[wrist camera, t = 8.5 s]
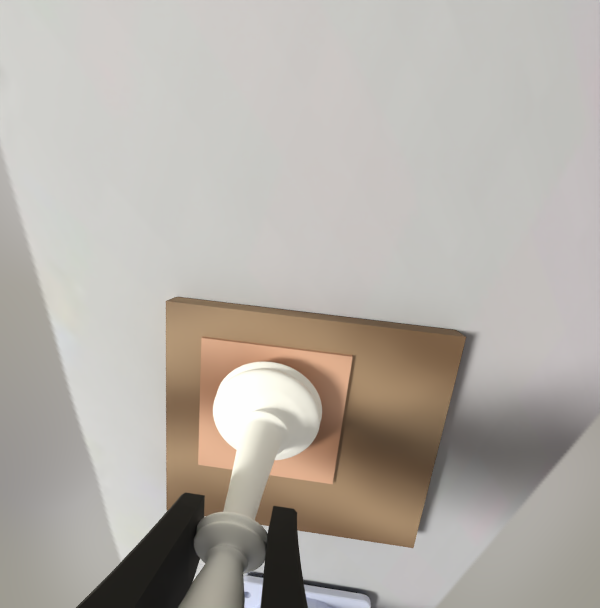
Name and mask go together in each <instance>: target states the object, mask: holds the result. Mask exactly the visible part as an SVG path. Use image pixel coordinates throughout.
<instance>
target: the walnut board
mask: <svg viewBox="0 0 600 608" xmlns="http://www.w3.org/2000/svg"><path fill="white" fill-rule="evenodd" d="M465 340H466V337H465V336H464V335H462V334H461V333H459V332H458V331H457V330H451V329H443V328H435V327H426V326H418V325H409V324H401V323H393V322H384V321H376V320H367V319H359V318H350V317H342V316H334V315H325V314H317V313H308V312H300V311H292V310H283V309H275V308H266V307H258V306H250V305H241V304H233V303H224V302H216V301H208V300H199V299H191V298H182V297H175V298H172V299H170V300H167V301H166V474H167V510H169V509H170V508H171V506H172V505H173V504H174V503H175V502H176V501H177V499H178V498H179V497H180V496H181V495H182V494H183V493H185V492H186V493H193V494H199V495H205V505H204V516H208V515H210V514H213V513H217V512H223V510H224V506H225V501H226V497H227V493H228V489H229V485H230V480H231V475H232V471H233V465H234V460H235V456H236V451H237V450H236V449H234V448H233V447H232V446H230V445H229V444H228V443H227V442H226V441H225V440H224V438H223V437H222V436H221V434H220V433H219V431H218V429H217V427H216V425H215V422H214V417H213V404H214V400H215V397H216V394H217V391H218V388H219V386H220V384H221V382H222V381H223V379H224V378H225V377H226V376H227V375H228V374H229V373H230V372H232V371H233V370H235V369H236V368H238V367H240V366H242V365H245V364H249V363H253V362H275V363H279V364H283V365H286V366H289V367H291V368H293V369H295V370H296V371H298V372H300V373H301V374H302V375H304V376H305V377H306V378H307V379H308V380H309V381H310V382H311V383H312V384H313V386H314V387H315V389H316V390H317V392H318V394H319V397H320V400H321V404H322V418H321V422H320V427H319V431H318V433H317V435H316V437H315V439H314V441H313V442H312V443H311V444H310V446H309V447H307V448H306V449H305V450H304V451H302V452H301V453H299V454H297V455H295V456H293V457H290V458H287V459H282V460H274V463H273V466H272V469H271V472H270V475H269V477H268V480H267V483H266V486H265V489H264V492H263V495H262V498H261V501H260V505H259V508H258V511H257V514H256V517H255V521H256V522H258V523H259V524H260V525H266V526H269V525H270V519H271V515H272V510H273V506H279V507H286V508H293V509H295V511H296V512H297V530H299V531H305V532H312V533H318V534H325V535H332V536H338V537H345V538H351V539H358V540H364V541H371V542H377V543H384V544H390V545H397V546H403V547H410V548H413V547H414V543H415V539H416V535H417V531H418V527H419V523H420V519H421V515H422V511H423V507H424V503H425V499H426V495H427V491H428V487H429V483H430V479H431V475H432V471H433V468H434V464H435V460H436V456H437V452H438V448H439V444H440V440H441V436H442V432H443V428H444V424H445V420H446V416H447V412H448V408H449V404H450V400H451V396H452V392H453V388H454V384H455V380H456V376H457V372H458V368H459V364H460V360H461V356H462V352H463V348H464V344H465Z"/></svg>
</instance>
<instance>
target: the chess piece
mask: <svg viewBox="0 0 600 608" xmlns="http://www.w3.org/2000/svg"><path fill="white" fill-rule="evenodd" d="M213 417H214V422H215V425H216V427H217V429H218V431H219V433H220V434H221V436H222V437H223V438H224V440H225V441H226V442H227V443H228V444H229V445H230V446H232V447H233V448H234V449H236V450H237V451H236V456H235V460H234V465H233V471H232V475H231V480H230V485H229V489H228V493H227V497H226V501H225V506H224V510H223V512H217V513H213V514H210V515H208V516H206V517H204V518H203V519H202V520H201V521H200V522H199V523H198V525H197V530H196V535H195V538H194V548H195V551H196V553H197V555H198V556H199V558H200V559H201V560H202V561H203V562H204V563H206V564H205V565H204V567H203V568H202V570H201V571H200V573H199V574H198V575H197V577H196V578H195V580H194V581H193V583H192V584H191V586H190V588H189V590H188V592H187V594H186V595H185V597H184V599H183V600H182V602H181V603H180V605H179V606H178V608H244V605H245V593H244V578H243V573H248V572H251V571H254V570H256V569H257V568H259V567H260V566H261V565H262V564H263V563H264V561H265V556H266V546H267V536H268V534H267V532H266V530H265V529H264V528H263V527H262V526H261V525H260V524H259V523H258V522H256V521H255V517H256V514H257V511H258V508H259V505H260V501H261V498H262V495H263V492H264V489H265V486H266V483H267V480H268V477H269V475H270V472H271V469H272V466H273V463H274V460H282V459H287V458H290V457H293V456H295V455H297V454H299V453H301V452H302V451H304V450H305V449H306V448H307V447H309V446H310V444H311V443H312V442H313V441H314V439H315V437H316V435H317V433H318V431H319V427H320V422H321V418H322V404H321V400H320V397H319V394H318V392H317V390H316V389H315V387H314V386H313V384H312V383H311V382H310V381H309V380H308V379H307V378H306V377H305V376H304V375H302V374H301V373H300V372H298V371H296V370H295V369H293V368H291V367H289V366H286V365H283V364H279V363H275V362H253V363H249V364H245V365H242V366H240V367H238V368H236V369H235V370H233V371H232V372H230V373H229V374H228V375H227V376H226V377H225V378H224V379H223V381H222V382H221V384H220V386H219V388H218V391H217V394H216V397H215V400H214V404H213Z"/></svg>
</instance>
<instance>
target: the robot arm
mask: <svg viewBox="0 0 600 608" xmlns="http://www.w3.org/2000/svg"><path fill="white" fill-rule="evenodd" d="M204 505H205V495H199V494H193V493H186V492H185V493H183V494H182V495H181V496H180V497H179V498H178V499H177V501H176V502H175V503H174V504H173V505H172V506H171V508H170V509H169V510H168V511H167V512H166V513H165V515H164V516H163V517H162V518H161V519H160V520H159V521H158V523H157V524H156V525H155V526H154V527H153V528H152V529H151V530H150V531H149V533H148V534H147V535H146V536H145V537H144V538H143V539H142V540H141V541H140V543H139V544H138V545H137V546H136V547H135V548H134V549H133V550H132V551H131V552H130V553H129V554H128V555H127V556H126V557H125V558H124V560H123V561H122V562H121V563H120V564H119V565H118V566H117V567H116V568H115V569H114V570H113V571H112V572H111V573H110V574H109V575H108V576H107V577H106V578H105V579H104V580H103V581H102V582H101V583H100V584H99V585H98V586H97V588H95V589H94V590H93V591H92V592H91V593H90V594H89V595H88V596H87V597H86V598H85V599H84V600H83V601H82V602H81V603H80V604H79V605H78V606H77V607H76V608H178V606H179V605H180V603H181V602H182V600H183V599H184V597H185V595H186V594H187V592H188V590H189V588H190V586H191V584H192V582H193V579H194V576H195V573H196V569H197V566H198V563H199V560H200V558H199V556H198V555H197V553H196V551H195V548H194V538H195V535H196V530H197V525H198V523H199V522H200V521H201V520H202V519H203V518H204ZM243 578H244V593H245V605H244V608H371V603H370V598H369V597H368V596H367V595H364V594H360V593H353V592H347V591H341V590H335V589H329V588H323V587H316V586H310V585H304V583H303V577H302V570H301V563H300V554H299V546H298V534H297V512H296V511H295V509H293V508H286V507H279V506H273V510H272V515H271V519H270V525H269V530H268V536H267V546H266V556H265V566H264V577H263V578H261V577H255V576H244V577H243Z"/></svg>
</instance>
